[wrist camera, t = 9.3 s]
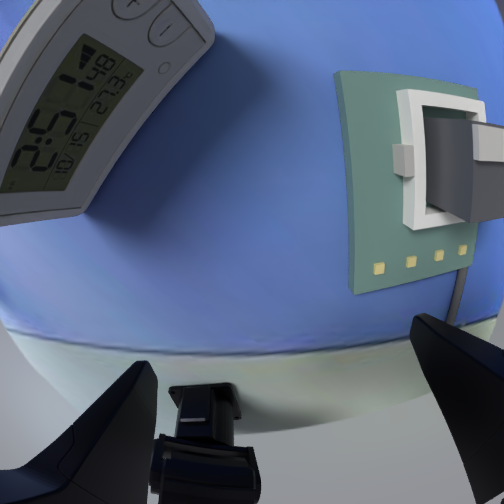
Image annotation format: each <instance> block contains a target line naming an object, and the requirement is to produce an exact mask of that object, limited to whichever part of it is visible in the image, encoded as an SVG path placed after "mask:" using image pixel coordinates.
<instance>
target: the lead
mask: <svg viewBox="0 0 504 504" xmlns="http://www.w3.org/2000/svg"><path fill="white" fill-rule="evenodd" d="M467 270H468V267H464V268H461V269H458V274H457V279H456V284H455V288H454V293H453V297H452V301H451V305H450V309H449V313H448V316H447V320H446V323H448V324H450V325H452V326H453V325H454V321H455V318H456V315H457V311H458V308H459V304H460V300H461V296H462V292H463V288H464V284H465V280H466V275H467Z"/></svg>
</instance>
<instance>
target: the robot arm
mask: <svg viewBox="0 0 504 504" xmlns="http://www.w3.org/2000/svg"><path fill="white" fill-rule="evenodd" d="M410 341H411V343H412V346H413V348H414V351H415V353H416V356H417V358H418V361H419V363H420V366H421V369H422V371H423V374H424V376H425V378H426V380H427V382H428V384H429V386H430V388H431V390H432V392H433V394H434V396H435V398H436V401H437V403H438V405H439V407H440V409H441V411H442V414H443V416H444V418H445V420H446V422H447V425H448V427H449V429H450V432H451V434H452V436H453V439H454V441H455V444H456V446H457V449H458V451H459V454H460V456H461V459H462V462H463V464H464V468H465V470H466V473H467V476H468V479H469V482H470V485H471V488H472V491H473V494H474V498H475V501H476V504H484V503H486V502H488V501H489V500H491V499H493V498H494V497H496V496H497V495H499V494H501V493H502V492H504V350H503V349H501V348H499V347H497V346H495V345H493V344H491V343H489V342H486V341H484V340H482V339H480V338H478V337H476V336H474V335H471V334H469V333H467V332H465V331H463V330H461V329H459V328H456V327H454V326H452V325H450V324H448V323H446V322H443V321H441V320H439V319H437V318H435V317H432V316H430V315H428V314H426V313H422V314H418V315H415V316H414V318H413V321H412V325H411V330H410ZM157 389H158V380H157V376H156V374H155V373H154V371H153V369H152V367H151V365H150V363H149V362H148V361H146V360H144V361H136V362H134V363H133V364H132V365H131V366H130V367H129V368H128V369H127V370H126V371H125V372H124V373H123V374H122V375H121V376H120V377H119V378H118V379H117V380H116V381H115V382H114V383H113V384H112V385H111V386H110V387H109V388H108V389H107V390H106V391H105V392H104V393H103V394H102V395H101V396H100V397H99V398H98V399H97V400H96V401H95V402H94V403H93V404H92V405H91V406H90V407H89V408H88V409H87V410H86V411H85V412H84V413H83V414H82V415H81V416H80V417H79V418H78V419H77V420H76V421H75V422H74V423H73V425H71V426H70V427H69V428H68V429H67V430H66V431H65V432H64V433H62V434H61V435H60V436H59V437H58V438H57V439H56V440H55V441H54V442H53V443H51V444H50V445H49V446H48V447H47V448H46V449H44V450H43V451H42V452H40V453H39V454H38V455H37V456H36V457H34V458H33V459H32V460H30V461H29V462H28V463H27V464H25V465H24V466H22V467H20V468H17V469H11V470H0V504H147V495H148V484H149V486H151V493H153V494H157V495H159V502H158V504H257V503H258V501H259V498H260V494H261V478H260V474H259V470H258V466H257V462H256V457H255V453H254V449H253V447H237V446H234V420H239V419H241V412H240V409H239V406H238V404H237V401H236V398H235V395H234V392H233V389H232V386H231V384H229V383H221V384H209V385H195V386H176V387H170V388H169V391H168V392H169V394H170V396H171V398H172V399H173V401H174V403H175V404H176V406H177V408H178V414H177V421H176V428H175V435H174V437H171V436H166V434H161V433H160V435H159V439H154V434H155V427H156V416H157ZM165 458H166V459H165ZM501 504H504V498H503V499H502V501H501Z"/></svg>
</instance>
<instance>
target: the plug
mask: <svg viewBox="0 0 504 504" xmlns="http://www.w3.org/2000/svg"><path fill="white" fill-rule="evenodd" d="M423 122H424V135H425V152H426V202H429V203H431V204H433V205H435V206H437V207H439V208H441V209H443V210H445V211H447V212H449V213H451V214H453V215H455V216H456V217H458V218H460V219H462V220H464V221H466V222H468V223H470V224H471V223H477V222H482V221H488V220H494V219H499V218H504V126H501V125H496V124H490V123H485V122H479V121H473V120H462V119H446V118H423Z"/></svg>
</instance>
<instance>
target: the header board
mask: <svg viewBox="0 0 504 504" xmlns="http://www.w3.org/2000/svg"><path fill="white" fill-rule="evenodd" d="M333 75H334V80H335V86H336V93H337V99H338V106H339V114H340V121H341V129H342V138H343V148H344V158H345V170H346V184H347V201H348V226H349V288H350V290H351V292H352V293H353V295H356V294H361V293H365V292H370V291H374V290H379V289H383V288H388V287H392V286H396V285H400V284H404V283H408V282H412V281H416V280H420V279H424V278H428V277H432V276H436V275H439V274H443V273H447V272H450V271H454V270H457V269H461V268H464V267H468V266H471V265H472V262H473V257H474V251H475V245H476V238H477V231H478V224H479V222H477V223H471V224H470V223H468V222H466V221H464V220H462V219H460V218H458V217H456V216H455V215H453V214H451V213H449V212H447V211H445V210H443V209H441V208H439V207H437V206H435V205H433V204H431V203H429V202H426V152H425V135H424V122H423V118H446V119H462V120H473V121H479V122H485V123H486V115H485V105H484V102H482V101H479V99H478V92H477V89H475V88H472V87H468V86H464V85H459V84H455V83H450V82H445V81H440V80H435V79H429V78H423V77H416V76H409V75H401V74H391V73H380V72H365V71H338V72H336V73H334V74H333Z"/></svg>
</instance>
